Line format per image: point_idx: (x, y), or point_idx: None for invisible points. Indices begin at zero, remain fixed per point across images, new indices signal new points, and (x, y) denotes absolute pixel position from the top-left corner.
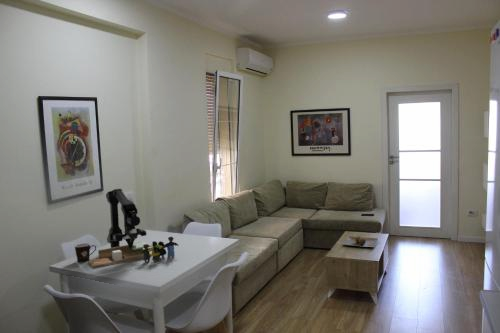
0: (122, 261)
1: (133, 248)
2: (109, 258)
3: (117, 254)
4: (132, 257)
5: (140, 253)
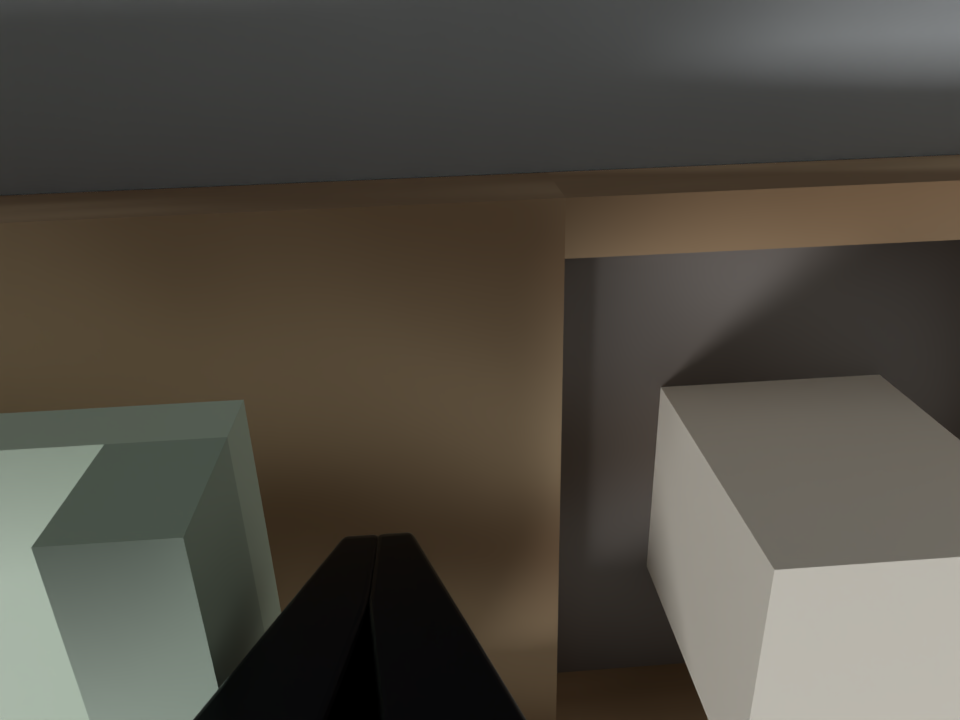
0: (751, 176)
1: (246, 510)
2: None
3: (900, 497)
4: (380, 259)
5: None
